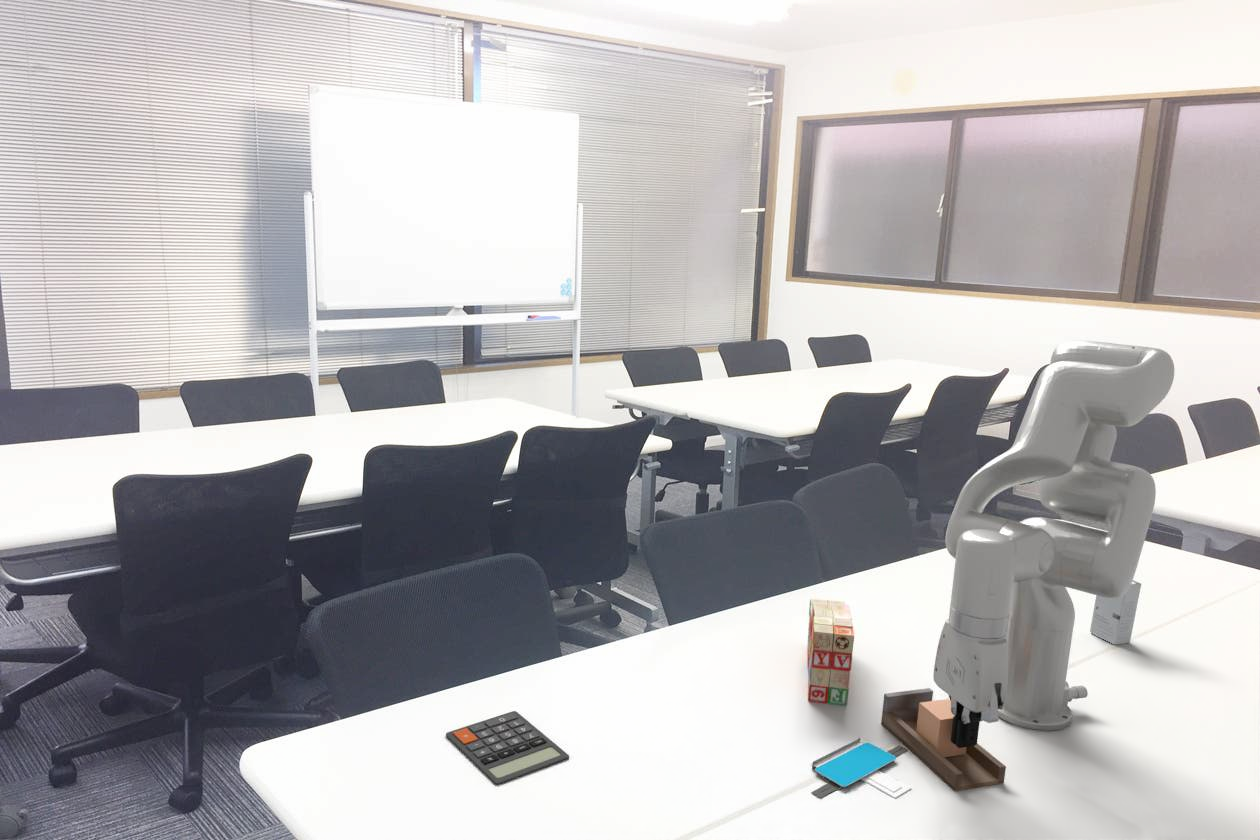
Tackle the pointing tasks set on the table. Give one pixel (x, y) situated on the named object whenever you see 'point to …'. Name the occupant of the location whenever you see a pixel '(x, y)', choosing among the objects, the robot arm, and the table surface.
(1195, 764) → the table surface
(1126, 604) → the skincare box
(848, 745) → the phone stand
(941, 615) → the table surface
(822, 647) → the stack of blocks
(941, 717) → the block
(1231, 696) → the table surface
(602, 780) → the table surface
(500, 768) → the calculator
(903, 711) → the chute
